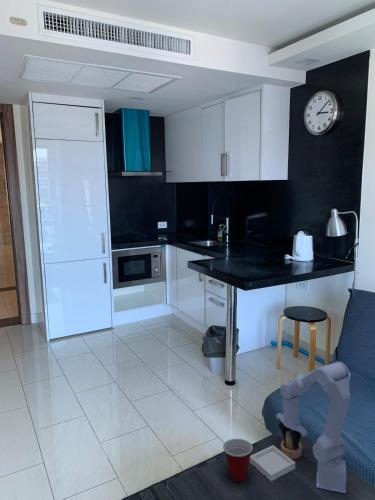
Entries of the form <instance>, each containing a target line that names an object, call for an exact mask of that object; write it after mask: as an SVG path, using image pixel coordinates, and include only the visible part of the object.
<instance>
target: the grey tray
mask: <svg viewBox="0 0 375 500" xmlns="http://www.w3.org/2000/svg"><path fill="white" fill-rule="evenodd" d="M249 463H250V465H252V466H253V467H254V466H255V467H256V468H255V467H254V468H255V469H256V470H258V471H259V472H260V473H261V475H263V476H264V475H265V476H266V477H265V476H264V477H265V478H267V479H268V480H269V481H270V482H273V481H275V480H277V479H279V478H280V476H281V477H283V476H284V475H287V474H288V473H290V472H292V471H294V470H295V469H296V461H294V460H293V458H289V457H288V456H286V455H285V454H284V453H282V452H281V449H279V448H277V447H276V446H275V445H273V444H272V445H270V446H268V447H267V448H263V449H262V450H260V451H258V452H256V453H254V454H251V455H250V459H249ZM282 475H283V476H282ZM278 477H279V478H278Z"/></svg>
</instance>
